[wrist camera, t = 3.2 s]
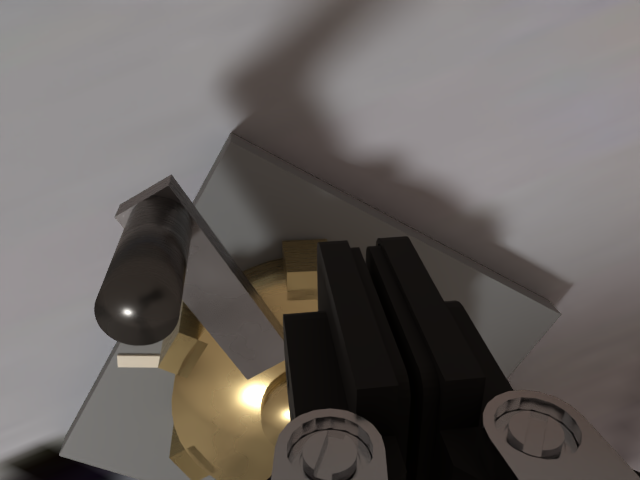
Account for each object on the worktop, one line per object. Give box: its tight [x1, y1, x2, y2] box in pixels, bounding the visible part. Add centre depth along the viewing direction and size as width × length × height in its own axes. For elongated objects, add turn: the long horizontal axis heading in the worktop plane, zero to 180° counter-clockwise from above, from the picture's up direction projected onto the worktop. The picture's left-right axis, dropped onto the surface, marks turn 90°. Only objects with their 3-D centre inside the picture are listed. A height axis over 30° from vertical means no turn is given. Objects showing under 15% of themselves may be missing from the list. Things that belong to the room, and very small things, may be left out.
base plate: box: [59, 133, 561, 480], centre depth 28 cm, size 17×17×1 cm
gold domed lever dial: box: [94, 175, 328, 480], centre depth 22 cm, size 17×12×9 cm
